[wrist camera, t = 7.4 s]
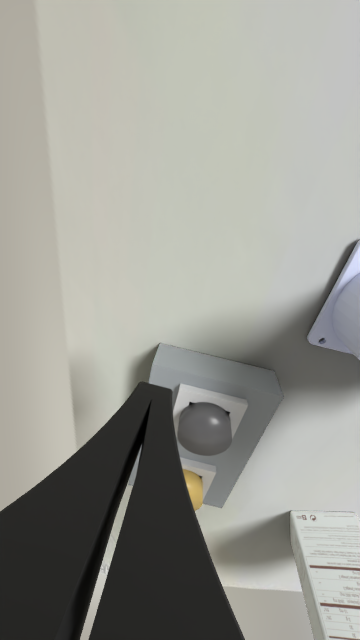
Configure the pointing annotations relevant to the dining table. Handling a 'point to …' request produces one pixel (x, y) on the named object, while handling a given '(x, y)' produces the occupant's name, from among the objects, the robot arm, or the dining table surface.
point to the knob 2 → (204, 429)
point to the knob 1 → (194, 488)
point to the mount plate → (227, 392)
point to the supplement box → (329, 571)
